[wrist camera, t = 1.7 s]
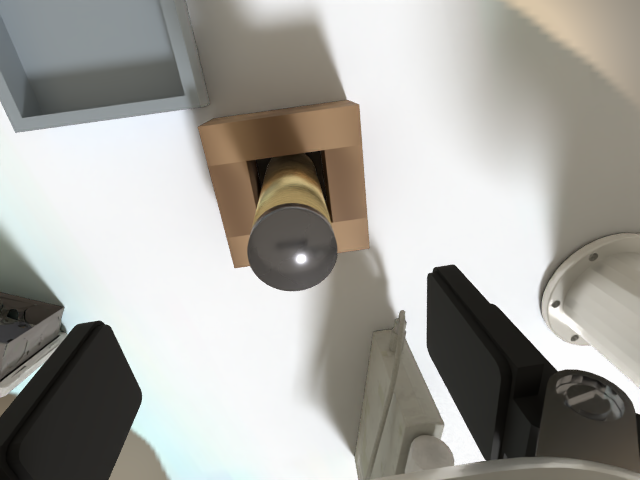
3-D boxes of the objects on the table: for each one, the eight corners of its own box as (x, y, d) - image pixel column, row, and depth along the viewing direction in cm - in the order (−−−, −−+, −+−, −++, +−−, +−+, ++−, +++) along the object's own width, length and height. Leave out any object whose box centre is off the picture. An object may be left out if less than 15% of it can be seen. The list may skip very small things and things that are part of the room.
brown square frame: (347, 99, 26) (359, 104, 22) (357, 223, 31) (369, 248, 26) (213, 118, 26) (197, 127, 22) (242, 239, 30) (234, 268, 26)
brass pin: (312, 146, 28) (332, 204, 15) (319, 195, 29) (341, 284, 17) (261, 153, 28) (238, 217, 15) (271, 201, 29) (257, 296, 17)
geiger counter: (426, 609, 32) (501, 409, 21) (355, 615, 31) (399, 412, 21) (386, 457, 44) (421, 286, 34) (335, 459, 44) (356, 285, 33)
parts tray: (158, -114, 21) (138, -143, 18) (210, 104, 26) (200, 107, 23) (-49, -88, 20) (-101, -113, 18) (44, 126, 26) (15, 132, 23)
